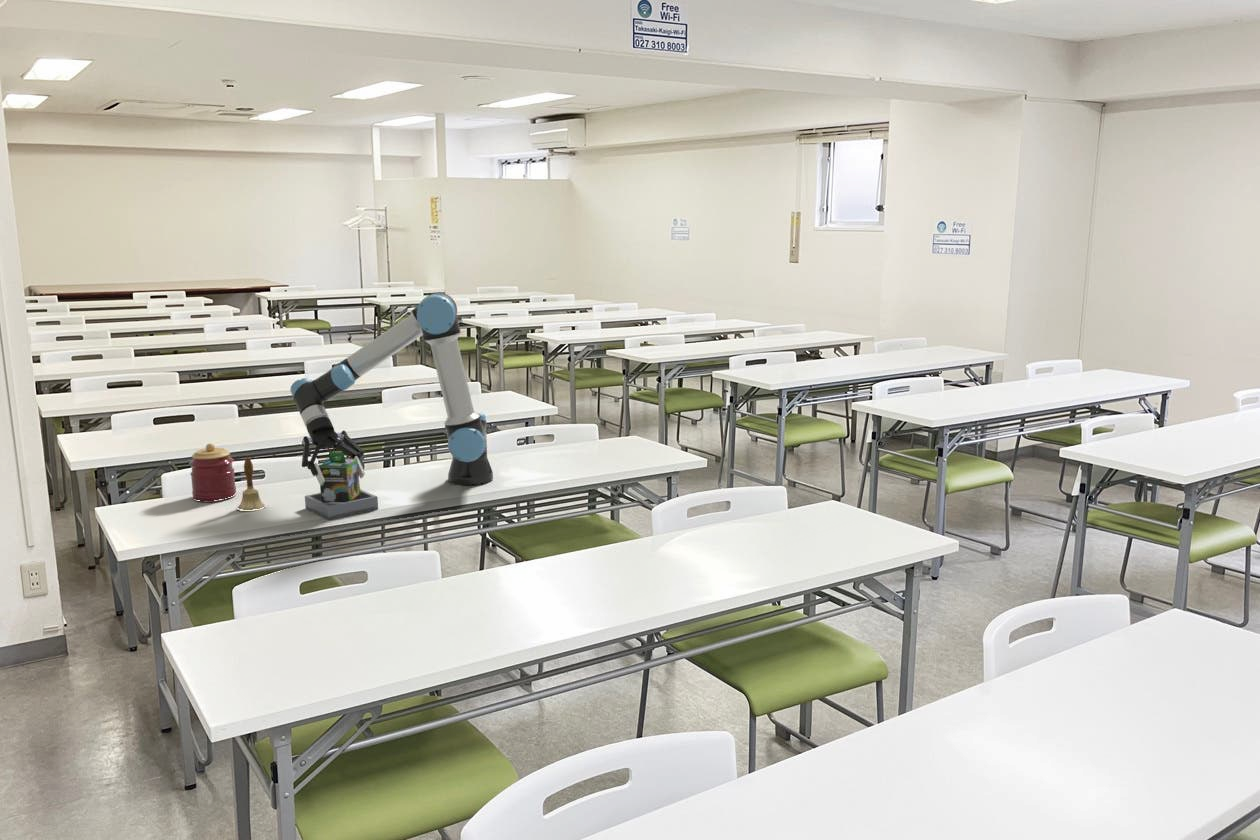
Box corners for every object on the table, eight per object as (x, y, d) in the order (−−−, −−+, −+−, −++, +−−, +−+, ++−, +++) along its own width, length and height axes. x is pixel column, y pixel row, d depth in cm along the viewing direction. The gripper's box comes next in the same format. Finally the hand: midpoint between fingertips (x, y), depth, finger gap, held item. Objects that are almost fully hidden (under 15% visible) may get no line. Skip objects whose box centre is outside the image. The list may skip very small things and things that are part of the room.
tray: (353, 498, 308) (353, 486, 307) (378, 509, 297) (377, 496, 296) (305, 508, 298) (304, 495, 297) (328, 519, 286) (327, 506, 285)
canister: (224, 503, 304) (220, 448, 300) (184, 502, 304) (179, 448, 301) (243, 492, 316) (239, 439, 313) (205, 491, 317) (200, 438, 314)
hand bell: (271, 506, 301) (267, 456, 297) (251, 513, 293) (246, 462, 290) (251, 503, 304) (247, 453, 301) (231, 509, 297) (226, 459, 293)
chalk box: (360, 494, 301) (358, 448, 298) (349, 503, 292) (346, 455, 289) (332, 493, 302) (329, 447, 299) (319, 502, 293) (316, 454, 290)
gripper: (350, 424, 312) (376, 479, 304) (276, 435, 296) (300, 493, 288) (357, 410, 307) (383, 465, 299) (282, 421, 291) (307, 479, 283)
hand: (343, 479), depth 293 cm, fingers closed on chalk box, 12 cm apart
